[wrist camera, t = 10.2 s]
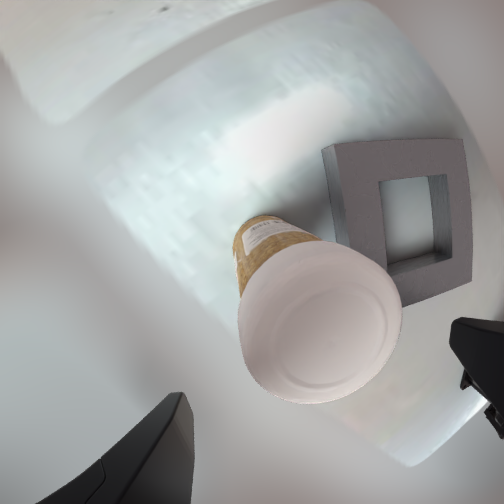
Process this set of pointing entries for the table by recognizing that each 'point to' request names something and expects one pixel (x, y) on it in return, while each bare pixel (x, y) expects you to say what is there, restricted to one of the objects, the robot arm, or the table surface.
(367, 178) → the metal collar
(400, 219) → the table surface
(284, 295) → the sprinkles bottle
